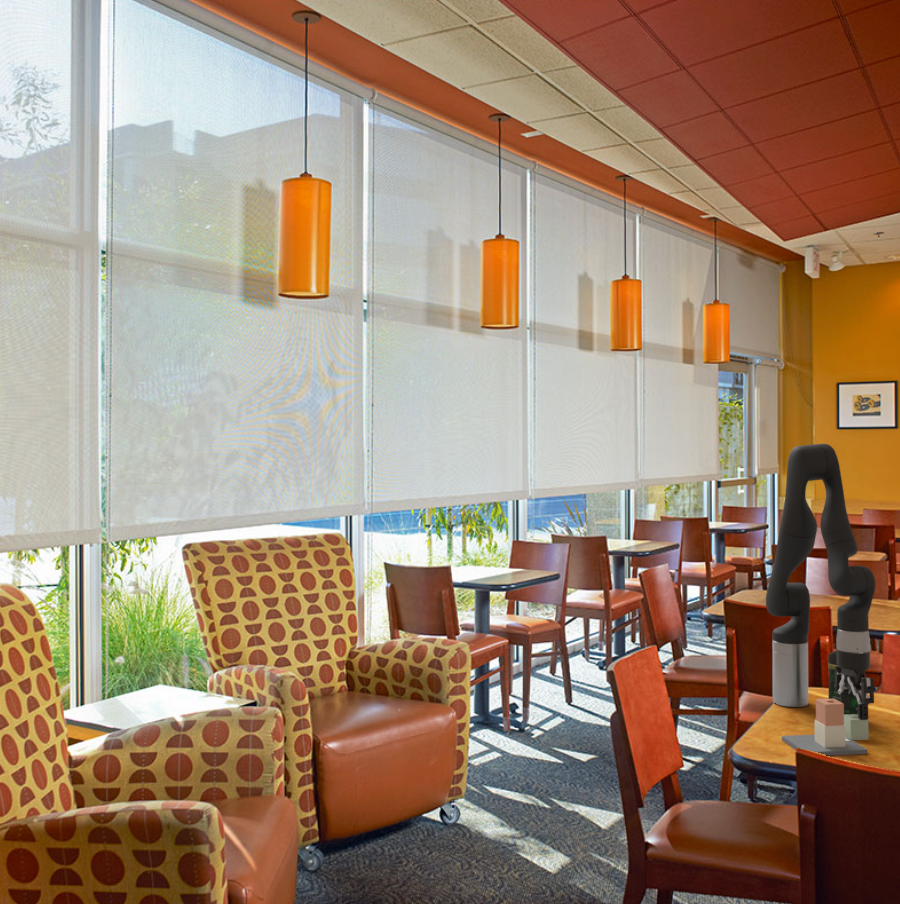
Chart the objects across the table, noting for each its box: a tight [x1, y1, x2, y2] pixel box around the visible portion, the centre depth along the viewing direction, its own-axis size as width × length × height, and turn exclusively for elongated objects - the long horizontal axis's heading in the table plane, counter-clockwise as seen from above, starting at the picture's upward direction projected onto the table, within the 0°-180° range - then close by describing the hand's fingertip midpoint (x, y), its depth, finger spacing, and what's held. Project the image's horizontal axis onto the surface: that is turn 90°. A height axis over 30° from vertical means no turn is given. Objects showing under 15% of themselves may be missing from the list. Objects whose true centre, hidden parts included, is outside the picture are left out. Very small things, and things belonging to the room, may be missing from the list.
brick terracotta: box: [815, 698, 844, 726], centre depth 219 cm, size 4×4×5 cm
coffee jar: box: [827, 649, 862, 715], centre depth 240 cm, size 10×8×19 cm
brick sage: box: [844, 714, 869, 741], centre depth 227 cm, size 4×4×5 cm
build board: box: [781, 719, 869, 757], centre depth 220 cm, size 12×15×6 cm
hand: (854, 714), depth 226 cm, fingers open, 8 cm apart
